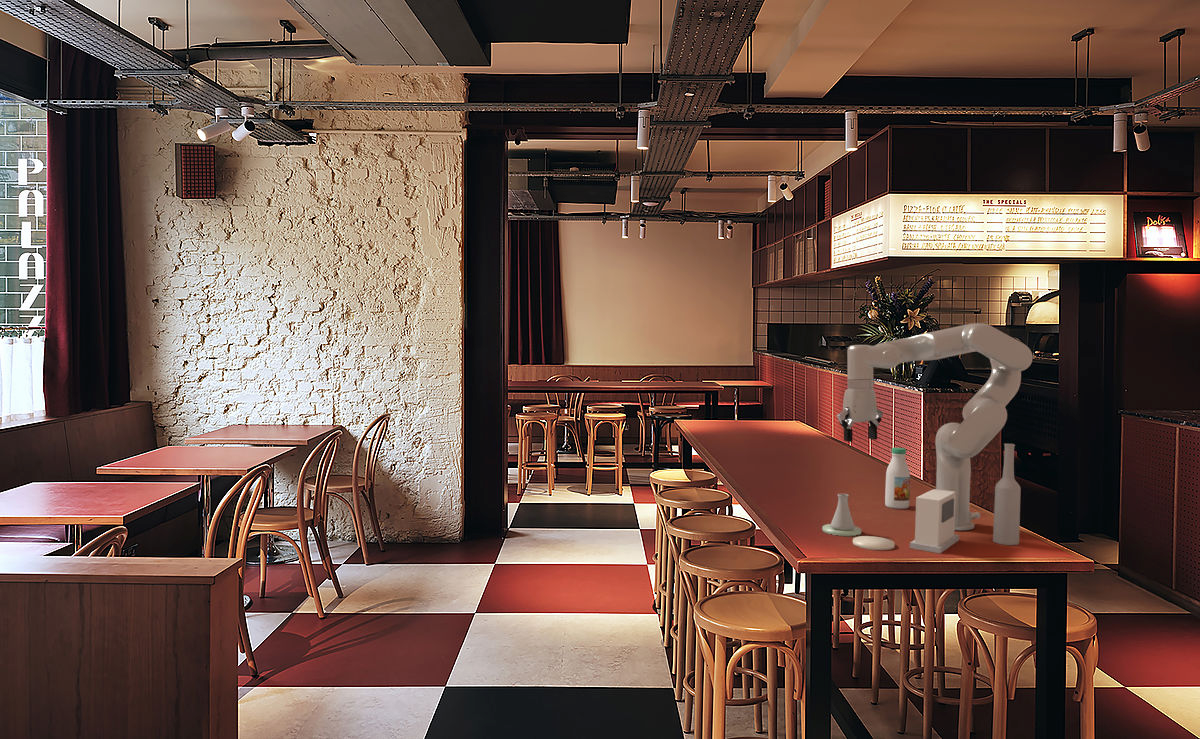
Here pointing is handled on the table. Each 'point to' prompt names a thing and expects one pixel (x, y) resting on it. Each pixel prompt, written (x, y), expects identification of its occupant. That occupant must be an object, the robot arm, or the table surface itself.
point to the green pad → (841, 531)
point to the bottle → (1007, 503)
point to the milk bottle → (897, 481)
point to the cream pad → (873, 543)
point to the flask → (842, 515)
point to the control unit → (935, 521)
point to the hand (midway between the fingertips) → (860, 440)
